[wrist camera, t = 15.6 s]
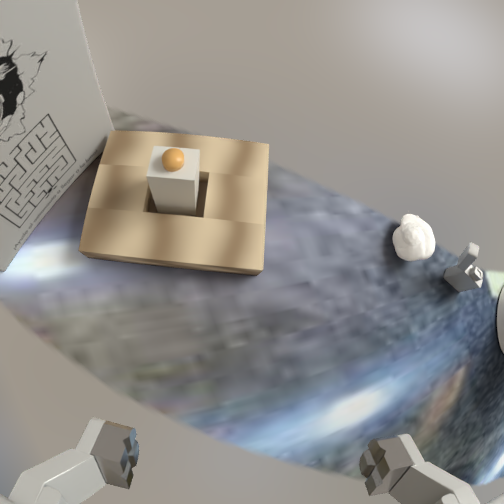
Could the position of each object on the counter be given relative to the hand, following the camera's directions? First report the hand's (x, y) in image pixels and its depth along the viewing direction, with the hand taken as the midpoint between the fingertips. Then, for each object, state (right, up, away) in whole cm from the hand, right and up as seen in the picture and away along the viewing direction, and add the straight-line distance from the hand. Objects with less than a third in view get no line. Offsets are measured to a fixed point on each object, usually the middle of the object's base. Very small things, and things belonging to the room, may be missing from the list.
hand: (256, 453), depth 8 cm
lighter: (+27, +3, +27) cm, 39 cm away
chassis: (-8, +12, +23) cm, 27 cm away
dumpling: (+19, +8, +27) cm, 34 cm away
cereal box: (-26, +15, +21) cm, 36 cm away
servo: (-8, +12, +23) cm, 27 cm away
